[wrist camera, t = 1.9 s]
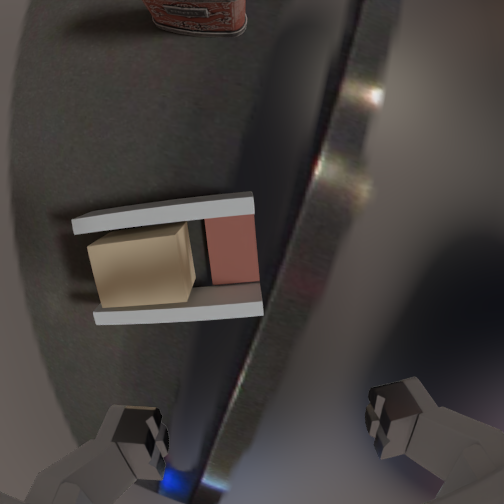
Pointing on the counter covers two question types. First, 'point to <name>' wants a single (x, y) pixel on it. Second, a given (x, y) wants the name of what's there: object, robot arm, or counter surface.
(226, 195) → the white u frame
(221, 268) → the trap pad
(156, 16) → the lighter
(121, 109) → the counter surface
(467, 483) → the robot arm
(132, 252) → the maple block
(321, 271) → the counter surface
